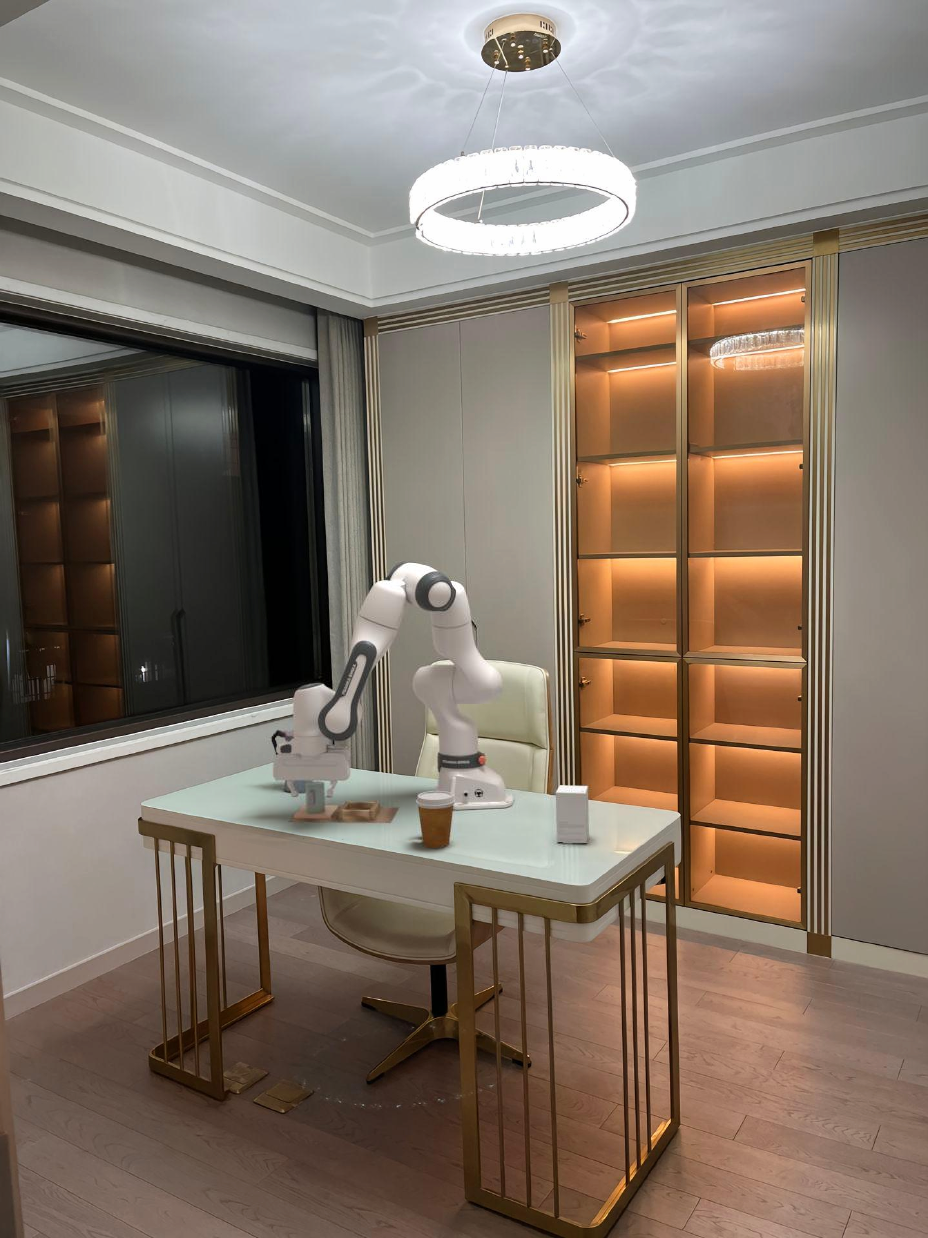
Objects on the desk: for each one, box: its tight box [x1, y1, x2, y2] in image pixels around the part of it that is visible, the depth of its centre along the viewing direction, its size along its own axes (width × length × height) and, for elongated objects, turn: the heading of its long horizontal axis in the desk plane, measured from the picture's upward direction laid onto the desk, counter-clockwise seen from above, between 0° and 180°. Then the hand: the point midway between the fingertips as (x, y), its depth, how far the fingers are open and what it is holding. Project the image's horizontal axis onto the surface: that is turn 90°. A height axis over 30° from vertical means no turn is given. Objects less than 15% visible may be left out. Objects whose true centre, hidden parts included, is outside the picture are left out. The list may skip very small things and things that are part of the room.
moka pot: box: [270, 729, 314, 794], centre depth 282 cm, size 10×15×20 cm, turn 89°
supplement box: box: [555, 784, 590, 844], centre depth 229 cm, size 7×7×13 cm
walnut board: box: [288, 801, 400, 824], centre depth 251 cm, size 27×15×4 cm, turn 85°
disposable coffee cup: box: [415, 790, 455, 849], centre depth 227 cm, size 10×10×12 cm
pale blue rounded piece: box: [305, 781, 326, 814], centre depth 250 cm, size 8×5×8 cm, turn 176°
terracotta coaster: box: [293, 804, 340, 818], centre depth 253 cm, size 10×10×1 cm
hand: (312, 796), depth 248 cm, fingers open, 8 cm apart
